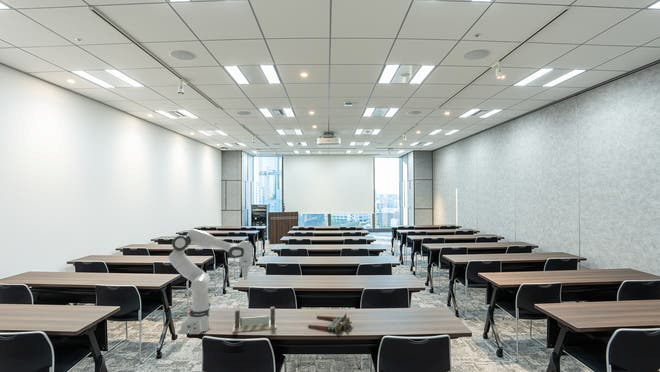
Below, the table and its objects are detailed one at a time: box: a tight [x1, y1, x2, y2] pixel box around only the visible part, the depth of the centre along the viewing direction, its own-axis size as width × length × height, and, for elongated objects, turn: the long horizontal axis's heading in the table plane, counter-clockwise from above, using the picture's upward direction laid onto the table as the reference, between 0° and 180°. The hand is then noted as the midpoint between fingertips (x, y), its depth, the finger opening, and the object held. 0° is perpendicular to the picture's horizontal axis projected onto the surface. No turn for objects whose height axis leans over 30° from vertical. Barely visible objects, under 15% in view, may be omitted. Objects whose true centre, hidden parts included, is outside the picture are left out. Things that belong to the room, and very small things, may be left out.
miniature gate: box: [307, 313, 353, 335], centre depth 237 cm, size 27×6×30 cm
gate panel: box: [240, 315, 270, 326], centre depth 234 cm, size 21×2×6 cm, turn 103°
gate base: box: [232, 306, 277, 334], centre depth 234 cm, size 31×14×13 cm, turn 103°
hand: (245, 279), depth 246 cm, fingers closed
